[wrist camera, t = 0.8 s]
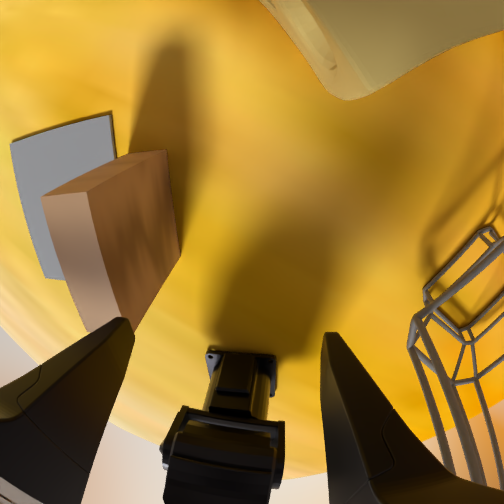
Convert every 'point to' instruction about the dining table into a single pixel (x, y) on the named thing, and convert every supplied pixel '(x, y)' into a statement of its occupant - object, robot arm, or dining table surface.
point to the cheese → (379, 36)
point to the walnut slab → (115, 236)
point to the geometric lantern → (437, 366)
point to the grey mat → (57, 174)
